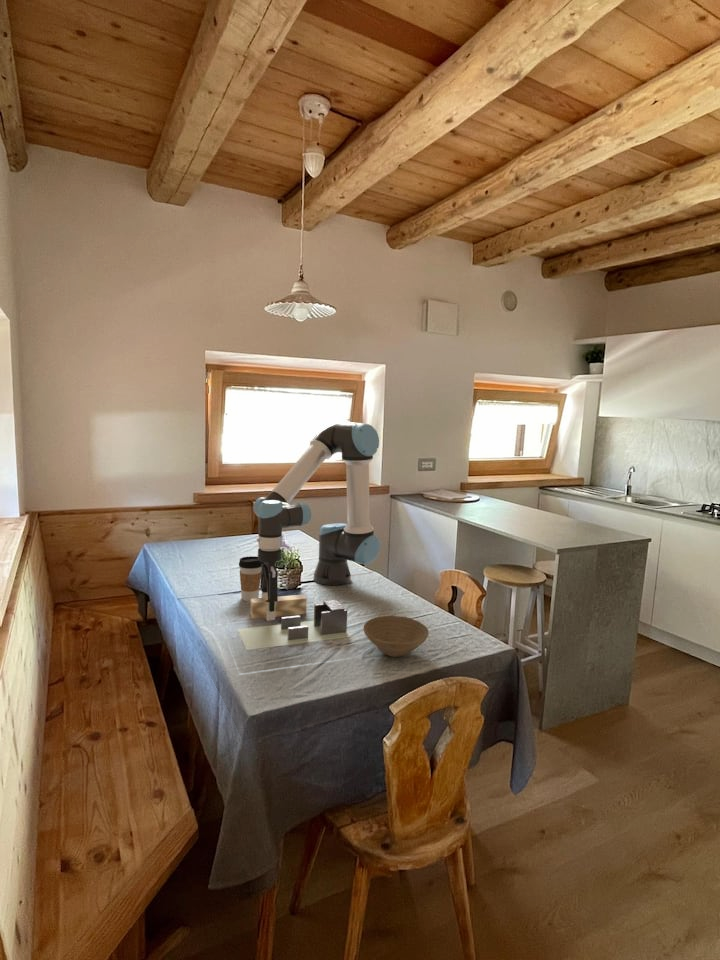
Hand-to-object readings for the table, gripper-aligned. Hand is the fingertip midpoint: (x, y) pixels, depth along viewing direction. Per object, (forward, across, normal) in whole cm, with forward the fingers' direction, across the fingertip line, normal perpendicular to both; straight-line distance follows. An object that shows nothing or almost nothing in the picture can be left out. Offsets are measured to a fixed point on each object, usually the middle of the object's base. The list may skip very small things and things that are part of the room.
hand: (268, 615), depth 176 cm
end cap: (0, +16, +16) cm, 22 cm away
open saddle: (0, +16, +4) cm, 17 cm away
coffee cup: (+1, -18, -2) cm, 18 cm away
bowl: (+1, +37, +28) cm, 47 cm away
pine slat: (+1, 0, +4) cm, 4 cm away
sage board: (0, +16, +4) cm, 17 cm away
